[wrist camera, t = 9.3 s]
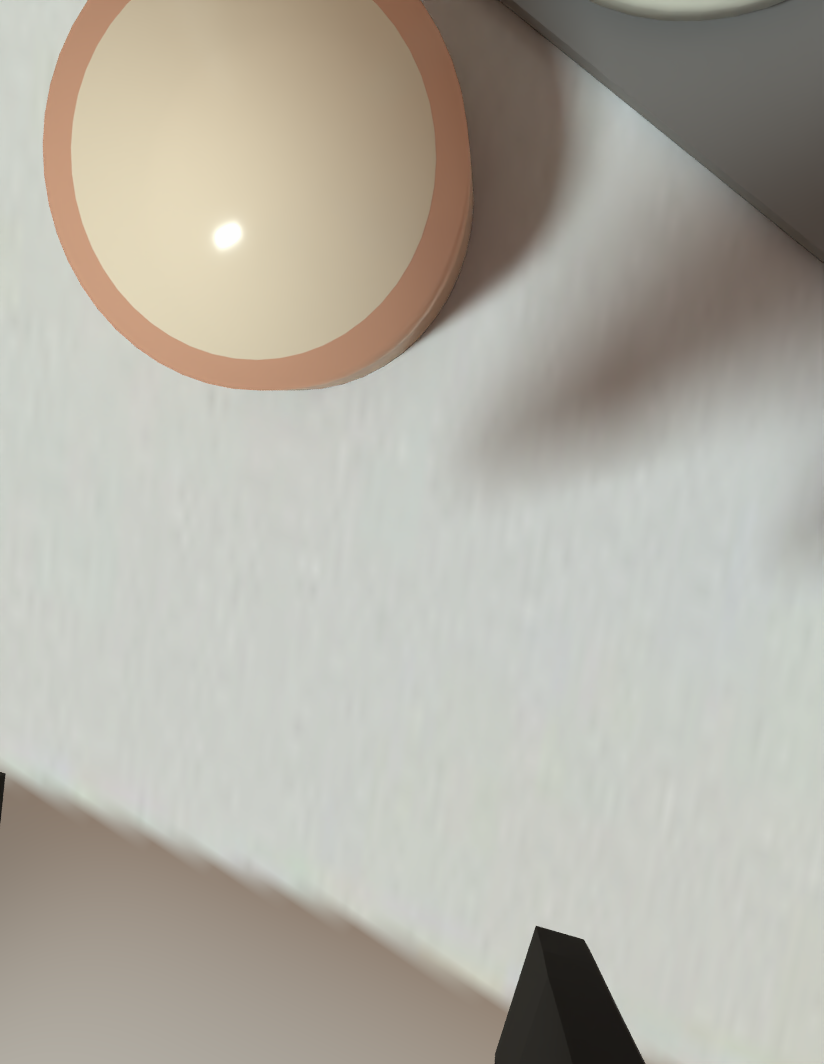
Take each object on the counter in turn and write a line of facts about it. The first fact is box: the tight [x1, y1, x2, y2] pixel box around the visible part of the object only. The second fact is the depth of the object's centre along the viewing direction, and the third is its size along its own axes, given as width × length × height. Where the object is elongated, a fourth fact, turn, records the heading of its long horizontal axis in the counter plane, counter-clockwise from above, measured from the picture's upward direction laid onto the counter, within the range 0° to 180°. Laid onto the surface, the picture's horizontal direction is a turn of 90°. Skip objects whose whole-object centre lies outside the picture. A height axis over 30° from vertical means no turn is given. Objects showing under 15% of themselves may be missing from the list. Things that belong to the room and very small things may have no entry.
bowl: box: [43, 0, 474, 390], centre depth 15 cm, size 8×8×3 cm
